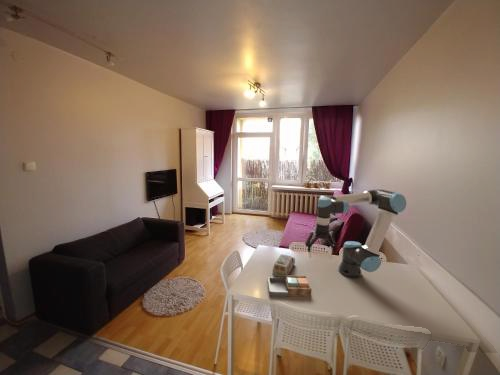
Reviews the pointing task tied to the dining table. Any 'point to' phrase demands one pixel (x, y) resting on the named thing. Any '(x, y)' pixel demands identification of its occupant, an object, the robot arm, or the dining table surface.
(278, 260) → the toy car
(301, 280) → the tile
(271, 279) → the box
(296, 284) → the tile
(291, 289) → the brown wooden tray
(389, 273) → the dining table surface
